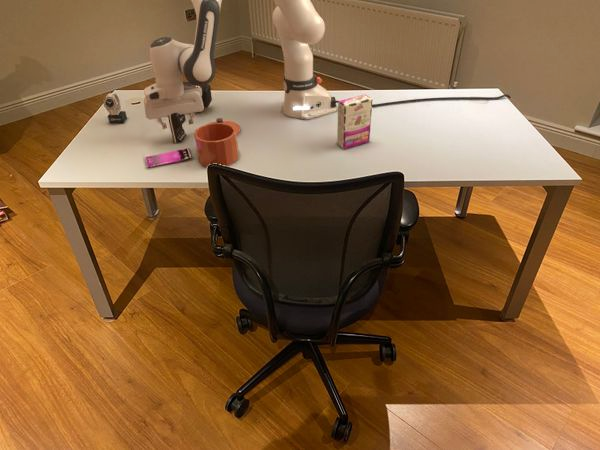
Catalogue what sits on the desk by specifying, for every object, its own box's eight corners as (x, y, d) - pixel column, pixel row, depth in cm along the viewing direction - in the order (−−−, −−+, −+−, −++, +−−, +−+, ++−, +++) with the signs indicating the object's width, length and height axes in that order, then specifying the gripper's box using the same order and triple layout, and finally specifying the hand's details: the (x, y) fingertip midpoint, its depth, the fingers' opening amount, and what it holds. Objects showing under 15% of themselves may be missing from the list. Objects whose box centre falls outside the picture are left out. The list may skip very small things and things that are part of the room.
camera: (175, 118, 178) (211, 114, 176) (167, 91, 171) (204, 87, 169) (182, 107, 186) (216, 103, 184) (174, 81, 179) (209, 77, 177)
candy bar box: (361, 136, 161) (365, 93, 151) (369, 142, 158) (373, 98, 147) (335, 143, 157) (337, 100, 147) (343, 149, 154) (345, 105, 143)
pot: (233, 144, 158) (230, 120, 152) (243, 162, 148) (240, 137, 142) (195, 151, 154) (191, 127, 148) (203, 170, 145) (198, 145, 139)
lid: (235, 120, 173) (233, 108, 170) (244, 136, 162) (243, 124, 159) (198, 127, 169) (196, 114, 166) (205, 144, 158) (203, 131, 155)
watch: (108, 125, 171) (99, 98, 164) (115, 116, 178) (107, 90, 171) (122, 125, 171) (114, 98, 164) (129, 116, 177) (121, 90, 170)
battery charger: (183, 144, 159) (177, 114, 152) (173, 143, 159) (166, 114, 152) (189, 134, 164) (184, 106, 157) (180, 134, 165) (174, 105, 157)
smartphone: (192, 159, 150) (192, 157, 149) (148, 168, 146) (147, 166, 145) (189, 149, 155) (188, 147, 155) (146, 158, 151) (145, 155, 151)
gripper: (199, 81, 155) (204, 117, 163) (139, 89, 149) (148, 126, 158) (202, 87, 150) (208, 124, 159) (141, 96, 144) (150, 134, 153)
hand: (178, 125), depth 158 cm, fingers open, 8 cm apart
